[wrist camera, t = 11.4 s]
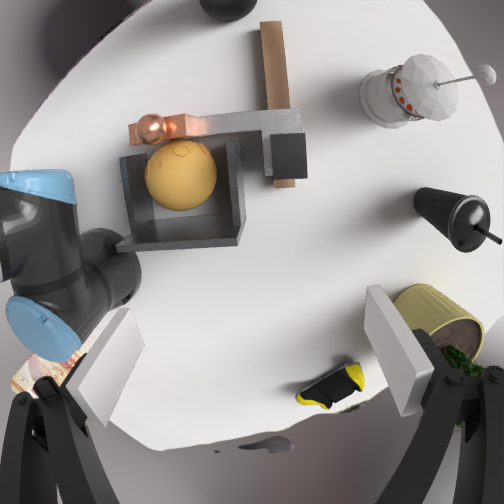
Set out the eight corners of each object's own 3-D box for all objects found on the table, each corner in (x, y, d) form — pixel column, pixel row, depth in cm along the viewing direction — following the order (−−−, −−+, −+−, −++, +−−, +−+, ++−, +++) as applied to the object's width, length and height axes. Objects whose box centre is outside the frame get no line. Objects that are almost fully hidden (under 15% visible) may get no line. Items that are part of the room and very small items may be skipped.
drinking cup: (445, 182, 40) (525, 213, 22) (438, 225, 43) (509, 273, 25) (409, 175, 41) (486, 204, 22) (403, 221, 43) (470, 272, 25)
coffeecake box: (100, 366, 61) (65, 423, 43) (92, 378, 63) (60, 431, 45) (54, 328, 58) (11, 377, 40) (49, 342, 60) (10, 389, 42)
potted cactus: (446, 325, 51) (513, 427, 23) (383, 350, 53) (429, 473, 25) (445, 262, 46) (545, 363, 18) (374, 289, 48) (446, 424, 20)
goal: (150, 226, 47) (117, 252, 35) (139, 154, 42) (100, 161, 31) (246, 218, 45) (237, 245, 34) (239, 140, 41) (227, 140, 30)
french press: (346, 87, 37) (426, 39, 13) (398, 55, 33) (494, 6, 10) (383, 140, 39) (489, 151, 16) (432, 105, 36) (543, 99, 13)
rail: (273, 185, 43) (273, 188, 40) (260, 29, 34) (259, 22, 31) (293, 184, 43) (295, 187, 40) (280, 28, 34) (281, 20, 31)
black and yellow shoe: (290, 383, 58) (316, 403, 60) (291, 402, 53) (318, 421, 55) (349, 347, 53) (372, 371, 56) (355, 365, 48) (378, 388, 51)
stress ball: (221, 195, 45) (240, 153, 36) (179, 236, 40) (190, 197, 31) (174, 159, 45) (184, 114, 36) (130, 195, 40) (129, 149, 31)
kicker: (167, 180, 43) (111, 206, 27) (160, 123, 39) (99, 119, 23) (300, 170, 41) (319, 189, 25) (296, 109, 38) (313, 88, 22)
